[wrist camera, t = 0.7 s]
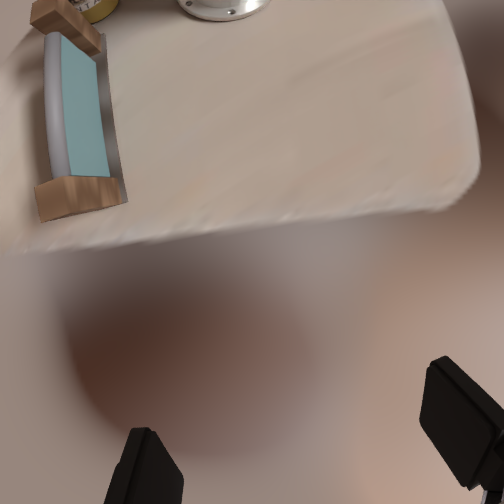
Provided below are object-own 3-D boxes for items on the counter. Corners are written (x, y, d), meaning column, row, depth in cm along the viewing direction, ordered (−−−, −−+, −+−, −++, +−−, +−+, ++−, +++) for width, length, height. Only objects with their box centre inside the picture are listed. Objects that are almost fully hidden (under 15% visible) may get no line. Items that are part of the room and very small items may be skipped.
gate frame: (78, 46, 28) (28, 5, 15) (105, 35, 28) (61, -13, 15) (98, 210, 33) (36, 224, 20) (128, 201, 33) (73, 211, 20)
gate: (83, 62, 28) (41, 31, 18) (96, 57, 28) (56, 23, 18) (97, 180, 31) (48, 181, 21) (111, 176, 31) (64, 174, 21)
